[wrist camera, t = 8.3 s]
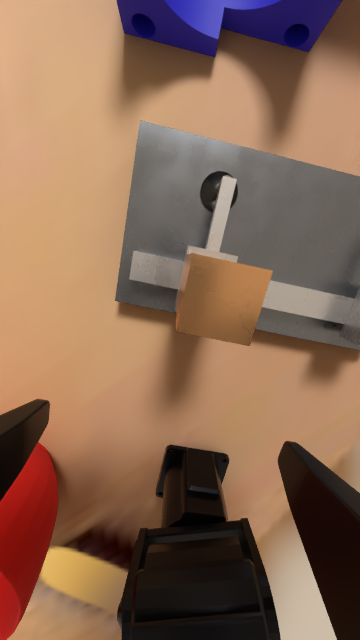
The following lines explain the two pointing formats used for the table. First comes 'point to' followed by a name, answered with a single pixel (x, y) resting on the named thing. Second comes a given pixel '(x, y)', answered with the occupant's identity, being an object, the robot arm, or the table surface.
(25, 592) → the ceramic cup
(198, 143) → the plate
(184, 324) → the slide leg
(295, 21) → the cable clip
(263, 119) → the table surface
